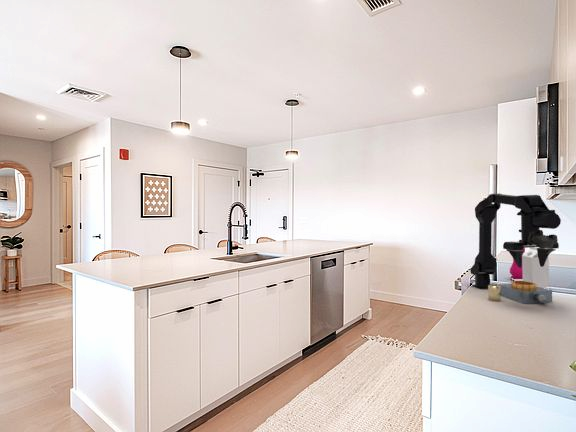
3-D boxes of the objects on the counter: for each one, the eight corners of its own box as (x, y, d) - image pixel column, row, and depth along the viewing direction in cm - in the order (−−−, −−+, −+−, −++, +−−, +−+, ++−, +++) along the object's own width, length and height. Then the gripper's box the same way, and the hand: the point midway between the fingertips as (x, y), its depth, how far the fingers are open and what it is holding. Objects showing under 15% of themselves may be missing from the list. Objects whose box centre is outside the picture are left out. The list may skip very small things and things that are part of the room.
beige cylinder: (485, 298, 138) (485, 282, 137) (495, 298, 138) (495, 282, 138) (493, 301, 133) (493, 285, 133) (503, 301, 134) (503, 284, 133)
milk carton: (538, 286, 153) (538, 246, 153) (549, 290, 146) (548, 248, 146) (522, 287, 154) (521, 246, 153) (532, 290, 147) (531, 248, 146)
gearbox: (498, 294, 143) (498, 280, 143) (523, 292, 144) (523, 278, 144) (530, 306, 126) (530, 289, 126) (559, 304, 127) (558, 288, 127)
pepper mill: (524, 279, 169) (523, 240, 168) (529, 282, 162) (528, 242, 161) (507, 278, 171) (507, 240, 170) (512, 281, 164) (511, 242, 164)
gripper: (524, 229, 118) (525, 272, 119) (572, 227, 120) (572, 269, 120) (501, 227, 129) (502, 267, 130) (545, 225, 131) (546, 264, 131)
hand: (530, 267), depth 128 cm, fingers open, 9 cm apart
